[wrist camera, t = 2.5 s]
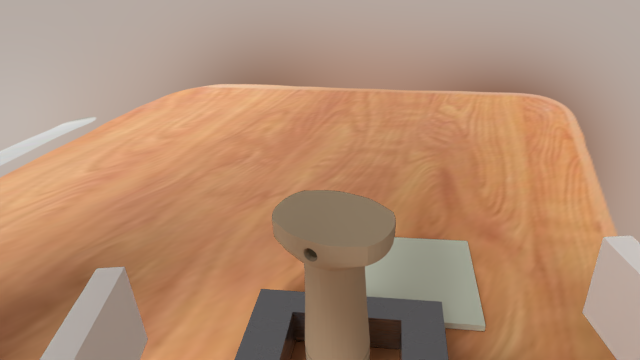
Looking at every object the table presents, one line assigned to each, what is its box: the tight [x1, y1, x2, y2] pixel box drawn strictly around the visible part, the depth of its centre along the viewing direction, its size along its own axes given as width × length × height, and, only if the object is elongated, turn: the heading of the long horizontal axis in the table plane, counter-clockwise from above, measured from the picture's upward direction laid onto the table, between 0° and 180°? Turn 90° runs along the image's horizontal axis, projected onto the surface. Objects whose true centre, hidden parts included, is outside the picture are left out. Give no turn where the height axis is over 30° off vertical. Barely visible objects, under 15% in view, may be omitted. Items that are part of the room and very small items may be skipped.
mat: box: [365, 237, 486, 331], centre depth 41 cm, size 11×11×1 cm
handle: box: [272, 190, 396, 360], centre depth 27 cm, size 5×6×15 cm
